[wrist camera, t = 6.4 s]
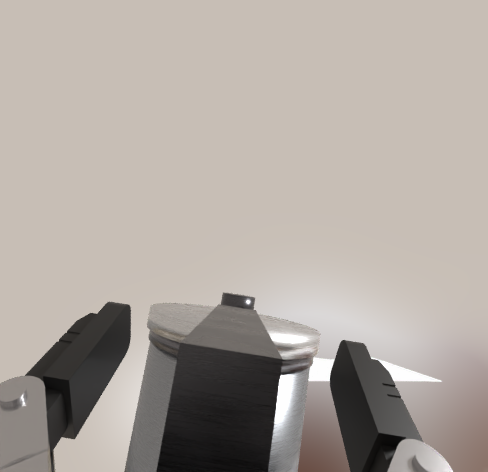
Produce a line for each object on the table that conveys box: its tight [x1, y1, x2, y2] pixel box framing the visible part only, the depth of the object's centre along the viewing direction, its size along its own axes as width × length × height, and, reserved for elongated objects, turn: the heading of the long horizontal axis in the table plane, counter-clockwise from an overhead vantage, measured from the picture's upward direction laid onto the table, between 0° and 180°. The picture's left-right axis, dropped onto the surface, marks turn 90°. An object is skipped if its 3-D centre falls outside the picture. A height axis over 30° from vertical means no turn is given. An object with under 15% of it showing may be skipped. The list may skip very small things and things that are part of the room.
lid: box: [147, 293, 320, 472], centre depth 21 cm, size 15×28×4 cm, turn 1°
